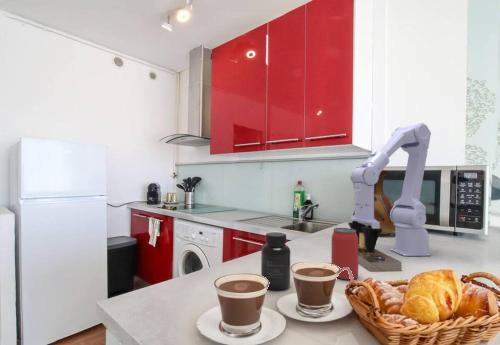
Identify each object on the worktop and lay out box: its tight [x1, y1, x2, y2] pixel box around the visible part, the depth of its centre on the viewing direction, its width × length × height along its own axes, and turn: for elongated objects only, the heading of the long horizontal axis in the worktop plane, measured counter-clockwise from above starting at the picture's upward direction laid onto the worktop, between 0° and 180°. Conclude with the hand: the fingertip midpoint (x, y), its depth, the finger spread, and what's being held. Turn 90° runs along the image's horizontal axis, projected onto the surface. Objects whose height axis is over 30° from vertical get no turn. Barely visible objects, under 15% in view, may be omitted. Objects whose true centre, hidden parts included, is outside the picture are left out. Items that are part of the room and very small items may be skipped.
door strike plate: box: [358, 244, 403, 272], centre depth 85 cm, size 24×9×3 cm, turn 4°
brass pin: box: [358, 232, 369, 253], centre depth 85 cm, size 3×3×8 cm
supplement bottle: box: [260, 231, 291, 292], centre depth 63 cm, size 7×7×12 cm
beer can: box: [331, 227, 359, 281], centre depth 70 cm, size 7×7×12 cm
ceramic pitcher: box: [351, 169, 396, 236], centre depth 125 cm, size 20×20×30 cm
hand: (364, 247), depth 85 cm, fingers open, 7 cm apart
